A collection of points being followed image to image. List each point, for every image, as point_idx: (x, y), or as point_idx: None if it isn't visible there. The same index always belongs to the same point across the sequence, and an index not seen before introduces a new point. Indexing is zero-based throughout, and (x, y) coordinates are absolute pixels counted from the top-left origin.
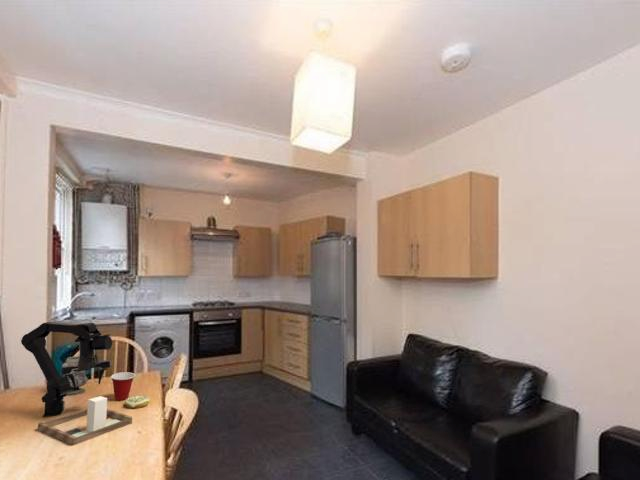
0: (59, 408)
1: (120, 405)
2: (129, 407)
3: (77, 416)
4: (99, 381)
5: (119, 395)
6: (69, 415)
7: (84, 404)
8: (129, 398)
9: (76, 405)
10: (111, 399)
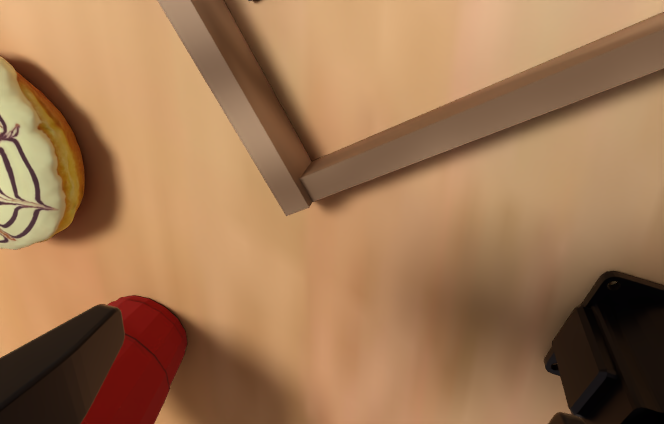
0: (620, 333)
1: (135, 208)
2: (47, 99)
3: (479, 95)
4: (52, 343)
5: (128, 327)
6: (578, 81)
7: (383, 381)
8: (13, 182)
9: (437, 395)
10: (212, 362)
